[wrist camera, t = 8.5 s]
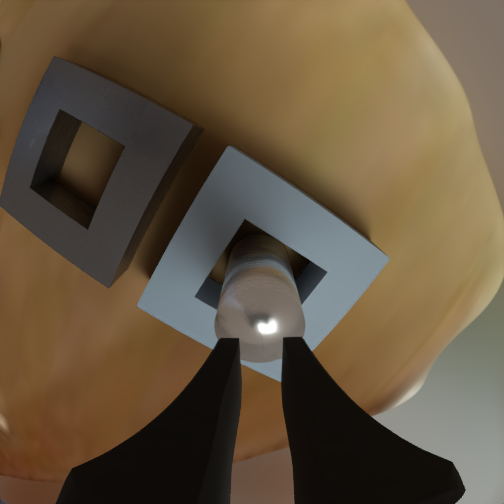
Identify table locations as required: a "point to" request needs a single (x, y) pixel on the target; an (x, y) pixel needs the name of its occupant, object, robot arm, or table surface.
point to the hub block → (277, 225)
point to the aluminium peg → (259, 299)
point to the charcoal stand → (121, 181)
